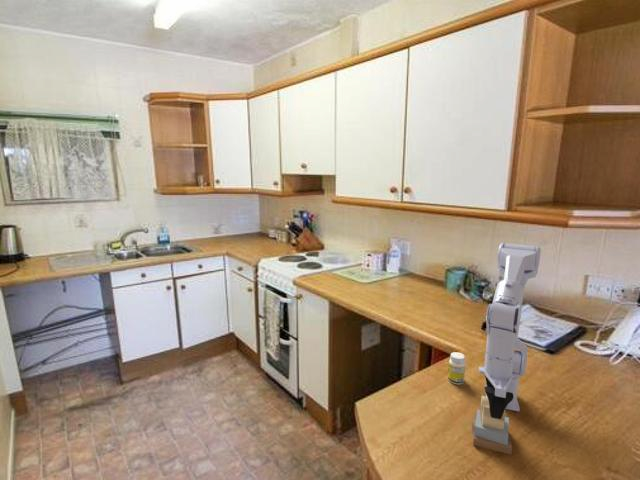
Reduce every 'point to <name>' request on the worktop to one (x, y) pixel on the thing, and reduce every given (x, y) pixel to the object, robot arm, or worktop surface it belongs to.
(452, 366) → the supplement bottle
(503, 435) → the slate slab
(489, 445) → the walnut slab
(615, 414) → the worktop surface
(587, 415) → the worktop surface
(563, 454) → the worktop surface
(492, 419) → the oak block
